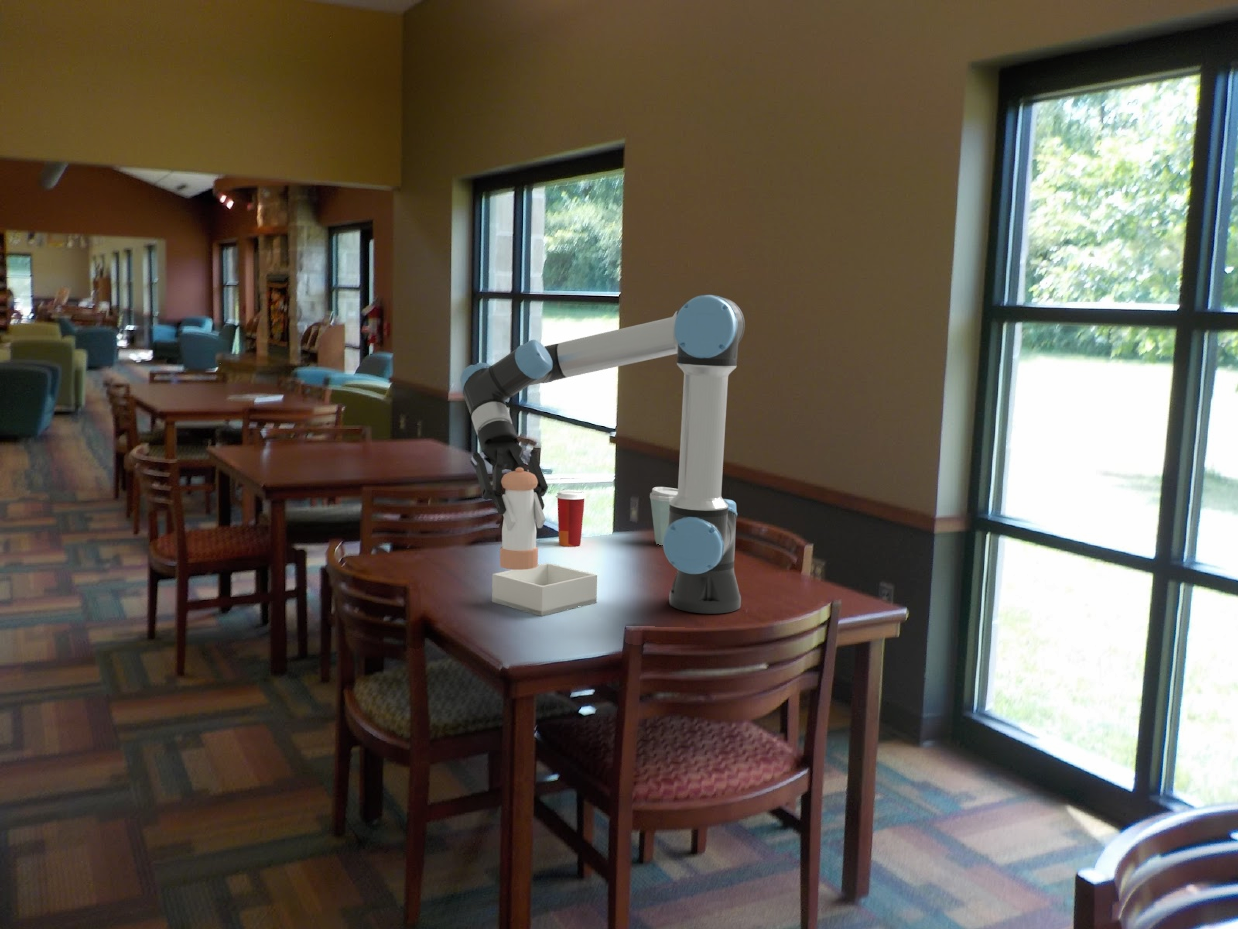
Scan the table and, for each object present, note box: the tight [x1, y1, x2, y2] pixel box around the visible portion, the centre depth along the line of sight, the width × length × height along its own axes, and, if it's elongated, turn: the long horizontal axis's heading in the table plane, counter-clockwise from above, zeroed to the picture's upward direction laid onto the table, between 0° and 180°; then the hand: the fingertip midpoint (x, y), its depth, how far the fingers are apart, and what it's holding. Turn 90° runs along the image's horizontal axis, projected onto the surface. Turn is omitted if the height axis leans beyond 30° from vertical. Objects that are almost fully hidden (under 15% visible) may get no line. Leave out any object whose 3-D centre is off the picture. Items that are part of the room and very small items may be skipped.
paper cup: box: [555, 489, 586, 548], centre depth 297 cm, size 8×8×14 cm
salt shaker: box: [499, 467, 539, 570], centre depth 218 cm, size 7×7×19 cm
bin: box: [491, 562, 598, 617], centre depth 238 cm, size 15×16×6 cm
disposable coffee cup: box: [649, 486, 678, 546], centre depth 300 cm, size 11×11×15 cm
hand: (526, 524), depth 215 cm, fingers closed on salt shaker, 5 cm apart
